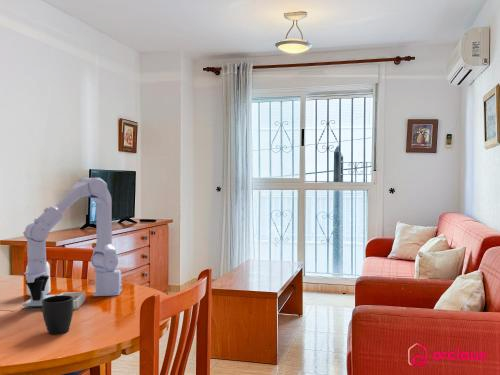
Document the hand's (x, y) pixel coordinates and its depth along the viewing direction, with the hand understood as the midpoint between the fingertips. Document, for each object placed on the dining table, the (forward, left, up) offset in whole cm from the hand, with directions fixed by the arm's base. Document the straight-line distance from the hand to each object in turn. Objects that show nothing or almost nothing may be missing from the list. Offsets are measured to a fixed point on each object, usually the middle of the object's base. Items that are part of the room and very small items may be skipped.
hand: (38, 299), depth 161 cm
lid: (0, -4, -2) cm, 5 cm away
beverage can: (+6, -20, -3) cm, 21 cm away
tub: (-10, -3, -3) cm, 10 cm away
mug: (-13, +23, -3) cm, 27 cm away
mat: (0, -5, -3) cm, 6 cm away
